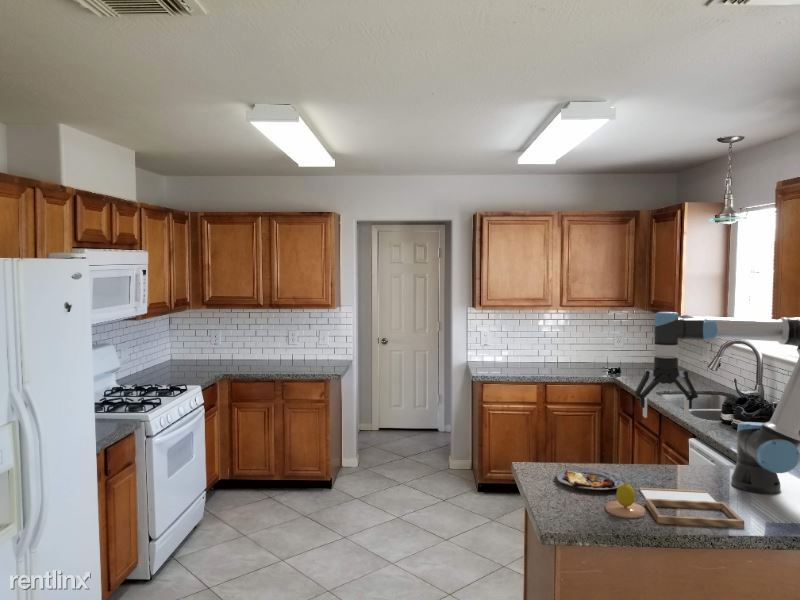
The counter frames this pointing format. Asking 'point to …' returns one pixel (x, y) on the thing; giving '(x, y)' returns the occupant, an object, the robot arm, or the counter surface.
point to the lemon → (625, 495)
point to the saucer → (625, 510)
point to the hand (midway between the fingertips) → (665, 417)
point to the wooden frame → (732, 522)
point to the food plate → (577, 480)
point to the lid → (676, 494)
